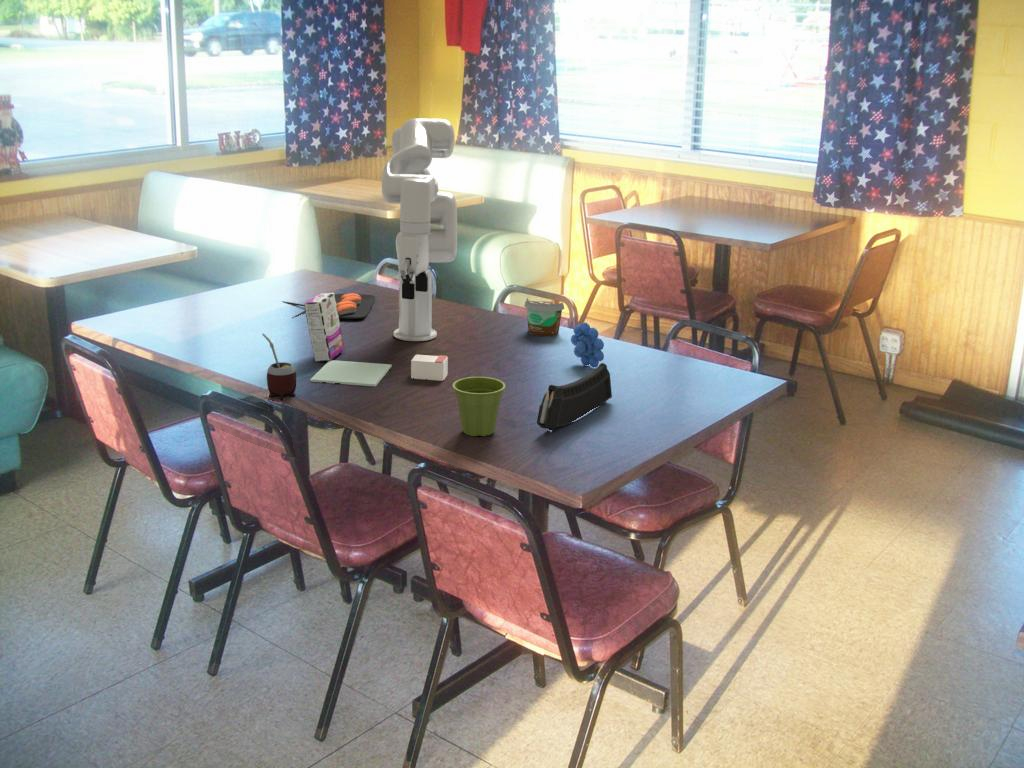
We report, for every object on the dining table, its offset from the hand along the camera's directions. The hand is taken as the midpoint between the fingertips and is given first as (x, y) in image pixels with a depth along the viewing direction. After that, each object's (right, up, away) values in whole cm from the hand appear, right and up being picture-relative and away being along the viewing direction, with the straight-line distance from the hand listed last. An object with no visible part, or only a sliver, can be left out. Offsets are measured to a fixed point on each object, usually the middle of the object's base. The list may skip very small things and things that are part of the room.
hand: (415, 295), depth 279 cm
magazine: (+40, -31, -21) cm, 55 cm away
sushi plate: (-35, +1, +68) cm, 77 cm away
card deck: (+3, -21, +6) cm, 22 cm away
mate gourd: (-32, -26, -13) cm, 43 cm away
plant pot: (+17, -34, -31) cm, 49 cm away
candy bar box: (-25, -15, +19) cm, 35 cm away
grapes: (+44, -18, +18) cm, 51 cm away
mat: (-17, -20, +5) cm, 27 cm away
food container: (+33, -8, +47) cm, 58 cm away
